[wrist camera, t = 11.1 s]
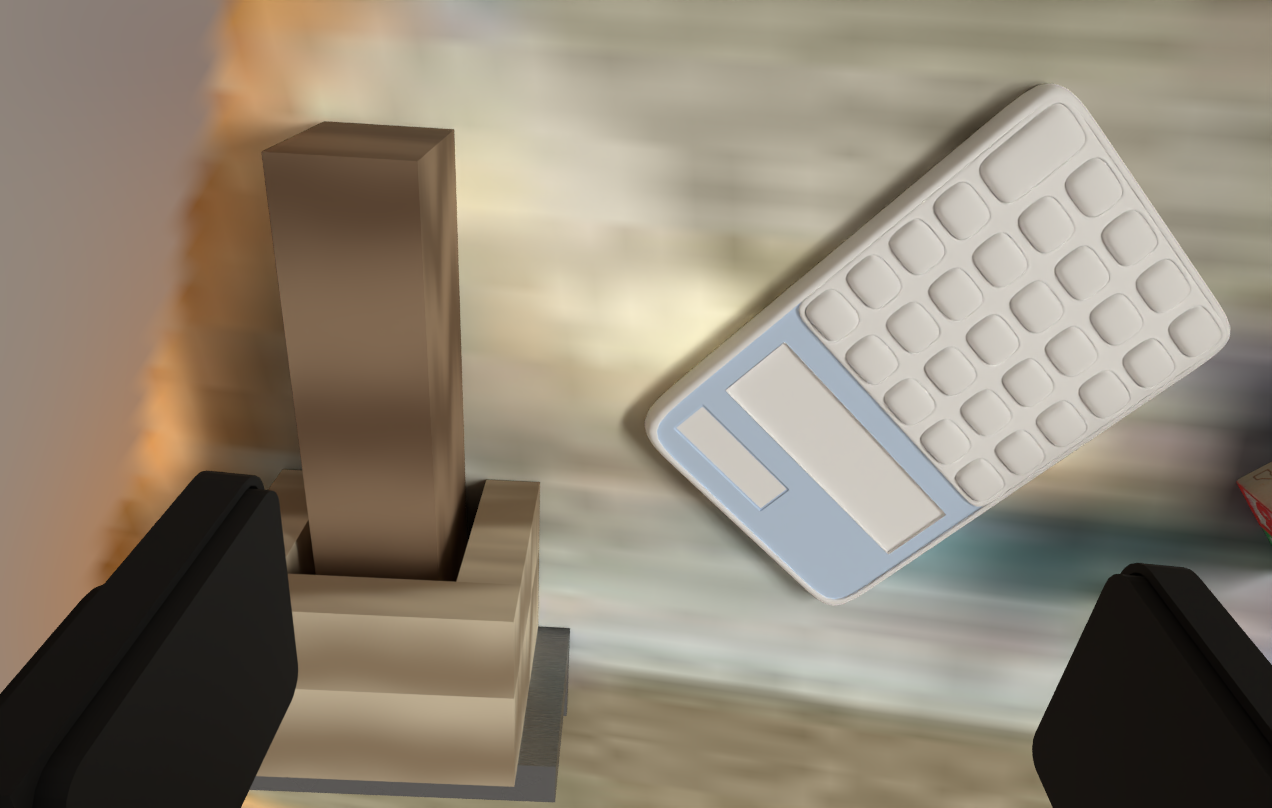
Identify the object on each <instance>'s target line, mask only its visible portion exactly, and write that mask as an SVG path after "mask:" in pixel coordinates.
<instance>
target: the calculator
mask: <svg viewBox="0 0 1272 808" xmlns="http://www.w3.org/2000/svg"><path fill="white" fill-rule="evenodd" d="M1060 103H1061V104H1060ZM1065 106H1066V107H1067V108H1066V107H1065ZM1102 160H1103V161H1104V162H1103V161H1102ZM971 186H972V187H971ZM976 192H977V193H976ZM980 197H981V198H980ZM1056 200H1057V201H1056ZM983 201H984V202H983ZM1001 201H1002V202H1001ZM1061 206H1062V207H1061ZM1139 213H1140V214H1141V215H1140V214H1139ZM1085 215H1086V216H1085ZM931 229H932V230H931ZM935 234H936V235H935ZM1009 236H1010V237H1011V238H1010V237H1009ZM938 238H939V239H938ZM959 239H960V240H959ZM940 241H941V242H940ZM1015 243H1016V244H1015ZM1018 247H1019V248H1018ZM1090 248H1091V249H1092V250H1091V249H1090ZM1021 251H1022V252H1021ZM1039 251H1040V252H1039ZM1041 252H1042V253H1041ZM1094 252H1095V253H1094ZM1023 254H1024V255H1023ZM1098 257H1099V258H1098ZM1123 265H1124V266H1123ZM909 271H910V272H909ZM965 272H966V273H967V274H966V273H965ZM896 275H897V276H896ZM898 278H899V279H898ZM971 279H972V280H973V281H972V280H971ZM899 280H900V281H899ZM975 284H976V285H975ZM991 284H992V285H991ZM851 288H852V289H851ZM978 288H979V289H978ZM1050 289H1051V290H1050ZM855 293H856V294H857V295H856V294H855ZM1054 294H1055V295H1054ZM1124 295H1125V296H1124ZM1057 298H1058V299H1057ZM1074 298H1075V299H1074ZM1128 299H1129V300H1130V301H1129V300H1128ZM867 305H868V306H867ZM1204 308H1205V309H1206V310H1207V311H1206V310H1205V309H1204ZM1155 311H1156V312H1155ZM858 316H859V317H858ZM946 316H947V317H946ZM934 320H935V321H934ZM936 323H937V324H936ZM937 325H938V326H937ZM1008 325H1009V326H1008ZM938 327H939V328H938ZM1012 330H1013V331H1012ZM1081 330H1082V331H1081ZM1014 333H1015V334H1014ZM1086 336H1087V337H1086ZM1229 338H1230V325H1229V322H1228V320H1227V317H1226V315H1225V313H1224V311H1223V309H1222V308H1221V306H1220V304H1219V303H1218V301H1217V300H1216V298H1215V297H1214V295H1213V294H1212V292H1211V291H1210V289H1209V288H1208V286H1207V285H1206V283H1205V282H1204V280H1203V279H1202V277H1201V276H1200V274H1199V273H1198V271H1197V270H1196V269H1195V267H1194V266H1193V264H1192V263H1191V261H1190V260H1189V258H1188V257H1187V255H1186V254H1185V252H1184V251H1183V249H1182V248H1181V246H1180V245H1179V243H1178V242H1177V240H1176V239H1175V237H1174V236H1173V235H1172V233H1171V232H1170V230H1169V229H1168V227H1167V226H1166V224H1165V223H1164V221H1163V220H1162V218H1161V217H1160V215H1159V214H1158V212H1157V211H1156V209H1155V208H1154V206H1153V205H1152V204H1151V202H1150V201H1149V199H1148V198H1147V196H1146V195H1145V193H1144V192H1143V190H1142V189H1141V187H1140V186H1139V184H1138V183H1137V181H1136V180H1135V178H1134V177H1133V175H1132V174H1131V172H1130V171H1129V170H1128V168H1127V167H1126V165H1125V164H1124V162H1123V161H1122V159H1121V158H1120V156H1119V155H1118V153H1117V152H1116V150H1115V149H1114V147H1113V146H1112V144H1111V143H1110V141H1109V140H1108V138H1107V137H1106V136H1105V134H1104V133H1103V131H1102V130H1101V128H1100V127H1099V125H1098V124H1097V122H1096V121H1095V119H1094V118H1093V117H1092V115H1091V114H1090V112H1089V111H1088V110H1087V108H1086V107H1085V106H1084V105H1083V103H1082V102H1081V101H1080V99H1078V98H1077V97H1076V96H1075V95H1074V94H1073V93H1072V92H1071V91H1070V90H1068V89H1067V88H1065V87H1063V86H1060V85H1058V84H1054V83H1049V84H1042V85H1037V86H1036V87H1034V88H1032V89H1030V90H1029V91H1027V92H1025V93H1023V94H1022V95H1021V96H1019V97H1018V98H1017V99H1015V100H1014V101H1013V102H1012V103H1010V104H1009V105H1008V106H1006V107H1005V108H1004V109H1003V110H1001V111H1000V112H999V113H998V114H997V115H995V116H994V117H993V118H992V119H990V120H989V121H988V122H987V123H986V124H984V125H983V126H982V127H981V128H980V129H978V130H977V131H976V132H975V133H974V134H972V135H971V136H970V137H969V138H968V139H966V140H965V141H964V142H963V143H962V144H960V145H959V146H958V147H957V148H956V149H954V150H953V151H952V152H951V153H950V154H949V155H947V156H946V157H945V158H944V159H943V160H941V161H940V162H939V163H938V164H937V165H935V166H934V167H933V168H932V169H931V170H929V171H928V172H927V173H926V174H925V175H923V176H922V177H921V178H920V179H919V180H917V181H916V182H915V183H914V184H913V185H911V186H910V187H909V188H908V189H907V190H905V191H904V192H903V193H902V194H901V195H899V196H898V197H897V198H896V199H895V200H894V201H892V202H891V203H890V204H889V205H888V206H886V207H885V208H884V209H883V210H882V211H880V212H879V213H878V214H877V215H876V216H874V217H873V218H872V219H871V220H870V221H868V222H867V223H866V224H865V225H864V226H862V227H861V228H860V229H859V230H858V231H856V232H855V233H854V234H853V235H852V236H850V237H849V238H848V239H847V240H846V241H844V242H843V243H842V244H841V245H840V246H839V247H837V248H836V249H835V250H834V251H833V252H831V253H830V254H829V255H828V256H827V257H825V258H824V259H823V260H822V261H821V262H819V263H818V264H817V265H816V266H815V267H813V268H812V269H811V270H810V271H809V272H807V273H806V274H805V275H804V276H803V277H801V278H800V279H799V280H798V281H797V282H795V283H794V284H793V285H792V286H791V287H789V288H788V289H787V290H786V291H785V292H784V293H782V294H781V295H780V296H779V297H778V298H776V299H775V300H774V301H773V302H772V303H770V304H769V305H768V306H767V307H766V308H764V309H763V310H762V311H761V312H760V313H758V314H757V315H756V316H755V317H754V318H752V319H751V320H750V321H749V322H748V323H746V324H745V325H744V326H743V327H742V328H740V329H739V330H738V331H737V332H736V333H734V334H733V335H732V336H731V337H730V338H729V339H727V340H726V341H725V342H724V343H723V344H721V345H720V346H719V347H718V348H717V349H715V350H714V351H713V352H712V353H711V354H709V355H708V356H707V357H706V358H705V359H703V360H702V361H701V362H700V363H699V364H697V365H696V366H695V367H694V368H693V369H691V370H690V371H689V372H688V373H687V374H686V375H684V376H683V377H682V378H681V379H680V380H678V381H677V382H676V383H675V384H674V385H672V386H671V387H670V388H669V389H668V390H667V391H666V392H665V393H664V394H663V395H661V396H660V397H659V398H658V399H657V400H656V401H655V403H654V404H653V405H652V406H651V408H650V409H649V410H648V413H647V416H646V419H645V429H646V434H647V437H648V438H649V440H650V441H651V443H652V444H653V446H654V447H655V448H656V449H657V450H658V451H659V452H660V454H661V455H662V456H663V457H664V458H665V459H666V460H667V461H669V462H670V463H671V464H672V465H673V466H674V467H675V468H676V469H677V470H678V471H679V472H680V473H681V474H682V475H683V476H684V477H686V478H687V479H688V480H689V481H690V482H691V483H692V484H693V485H694V486H695V487H696V488H697V489H698V490H699V491H701V492H702V493H703V494H704V495H705V496H706V497H707V498H708V499H709V500H710V501H711V502H712V503H713V504H714V505H716V506H717V507H718V508H719V509H720V510H721V511H722V512H723V513H724V514H725V515H726V516H727V517H728V518H729V519H731V520H732V521H733V522H734V523H735V524H736V525H737V526H738V527H739V528H740V529H741V530H742V531H743V532H744V533H745V534H747V535H748V536H749V537H750V538H751V539H752V540H753V541H754V542H755V543H756V544H757V545H758V546H759V547H760V548H762V549H763V550H764V551H765V552H766V553H767V554H768V555H769V556H770V557H771V558H772V559H773V560H774V561H775V562H777V563H778V564H779V565H780V566H781V567H782V568H783V569H784V570H785V571H786V572H787V573H788V574H789V575H790V576H792V577H793V578H794V579H795V580H796V581H797V582H798V583H799V584H800V585H801V586H802V587H803V588H804V589H806V590H807V591H808V592H809V593H810V594H811V595H813V596H814V597H815V598H816V599H818V600H820V601H821V602H823V603H825V604H829V605H834V606H835V605H840V604H844V603H847V602H849V601H851V600H853V599H855V598H857V597H858V596H860V595H861V594H863V593H865V592H866V591H868V590H870V589H871V588H873V587H874V586H876V585H877V584H879V583H880V582H882V581H883V580H885V579H886V578H888V577H889V576H890V575H892V574H893V573H895V572H896V571H898V570H899V569H901V568H902V567H904V566H905V565H907V564H908V563H910V562H911V561H913V560H914V559H916V558H917V557H919V556H920V555H922V554H923V553H924V552H926V551H927V550H929V549H930V548H932V547H933V546H935V545H936V544H938V543H939V542H941V541H942V540H944V539H945V538H947V537H948V536H950V535H951V534H953V533H954V532H956V531H957V530H959V529H960V528H961V527H963V526H964V525H966V524H967V523H969V522H970V521H972V520H973V519H975V518H976V517H978V516H979V515H981V514H982V513H984V512H985V511H987V510H988V509H990V508H991V507H993V506H994V505H995V504H997V503H998V502H1000V501H1001V500H1003V499H1004V498H1006V497H1007V496H1009V495H1010V494H1012V493H1013V492H1015V491H1016V490H1018V489H1019V488H1021V487H1022V486H1024V485H1025V484H1027V483H1028V482H1030V481H1031V480H1032V479H1034V478H1035V477H1037V476H1038V475H1040V474H1041V473H1043V472H1044V471H1046V470H1047V469H1049V468H1050V467H1052V466H1053V465H1055V464H1056V463H1058V462H1059V461H1061V460H1062V459H1064V458H1065V457H1066V456H1068V455H1069V454H1071V453H1072V452H1074V451H1075V450H1077V449H1078V448H1080V447H1081V446H1083V445H1084V444H1086V443H1087V442H1089V441H1090V440H1092V439H1093V438H1095V437H1096V436H1098V435H1099V434H1101V433H1102V432H1103V431H1105V430H1106V429H1108V428H1109V427H1111V426H1112V425H1114V424H1115V423H1117V422H1118V421H1120V420H1121V419H1123V418H1124V417H1126V416H1127V415H1129V414H1130V413H1132V412H1133V411H1135V410H1136V409H1137V408H1139V407H1140V406H1142V405H1143V404H1145V403H1146V402H1148V401H1149V400H1151V399H1152V398H1154V397H1155V396H1157V395H1158V394H1160V393H1161V392H1163V391H1164V390H1166V389H1167V388H1169V387H1170V386H1171V385H1173V384H1174V383H1176V382H1177V381H1179V380H1180V379H1182V378H1183V377H1185V376H1186V375H1188V374H1189V373H1191V372H1192V371H1194V370H1195V369H1196V368H1198V367H1199V366H1201V365H1202V364H1203V363H1205V362H1206V361H1207V360H1209V359H1210V358H1212V357H1213V356H1214V355H1215V354H1216V353H1218V352H1219V351H1220V350H1221V349H1222V348H1223V347H1224V346H1225V345H1226V343H1227V341H1228V339H1229ZM896 340H897V341H896ZM1089 340H1090V341H1089ZM1159 342H1160V343H1159ZM1108 343H1109V344H1108ZM905 349H906V350H905ZM1184 354H1185V355H1184ZM1186 355H1187V356H1186ZM895 356H896V357H895ZM967 359H968V360H967ZM897 361H898V362H897ZM984 361H985V362H986V363H985V362H984ZM1040 365H1041V366H1040ZM974 369H975V370H974ZM1044 370H1045V371H1044ZM1118 378H1119V379H1118ZM930 379H931V380H930ZM1139 385H1140V386H1139ZM936 386H937V387H938V388H939V389H940V390H941V391H940V390H939V389H938V388H937V387H936ZM1124 386H1125V387H1124ZM1141 386H1142V387H1141ZM1126 389H1127V390H1126ZM944 393H945V394H944ZM932 398H933V399H932ZM933 400H934V401H933ZM1008 409H1009V410H1008ZM1009 411H1010V412H1009ZM1077 411H1078V412H1077ZM1093 413H1094V414H1093ZM1080 415H1081V416H1080ZM1082 418H1083V419H1082ZM970 425H971V426H972V427H971V426H970ZM976 431H977V432H976ZM1052 443H1053V444H1052ZM1039 445H1040V446H1039ZM1041 448H1042V449H1041ZM1042 450H1043V451H1042ZM1003 463H1004V464H1005V465H1004V464H1003ZM1000 475H1001V476H1000Z"/></svg>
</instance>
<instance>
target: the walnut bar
mask: <svg viewBox="0 0 1272 808" xmlns="http://www.w3.org/2000/svg"><path fill="white" fill-rule="evenodd" d="M262 160H263V168H264V176H265V183H266V191H267V199H268V207H269V214H270V222H271V230H272V238H273V246H274V253H275V261H276V269H277V277H278V284H279V292H280V300H281V308H282V316H283V323H284V331H285V339H286V347H287V354H288V362H289V370H290V378H291V386H292V393H293V401H294V409H295V417H296V424H297V432H298V440H299V448H300V456H301V463H302V471H303V479H304V487H305V494H306V502H307V510H308V518H309V526H310V533H311V541H312V549H313V557H314V564H315V572H316V575H327V576H348V577H369V578H390V579H410V580H431V581H452V582H456V581H457V577H458V574H459V571H460V567H461V564H462V561H463V557H464V554H465V551H466V547H467V516H466V485H465V453H464V422H463V391H462V359H461V328H460V296H459V265H458V234H457V202H456V171H455V139H454V129H438V128H422V127H406V126H389V125H373V124H357V123H341V122H325V121H324V122H322V123H320V124H318V125H316V126H314V127H312V128H310V129H308V130H306V131H304V132H301V133H299V134H297V135H295V136H293V137H291V138H289V139H287V140H285V141H283V142H281V143H279V144H276V145H274V146H272V147H270V148H268V149H266V150H264V151H262Z"/></svg>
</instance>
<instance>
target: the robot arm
mask: <svg viewBox="0 0 1272 808" xmlns="http://www.w3.org/2000/svg"><path fill="white" fill-rule="evenodd" d="M297 680H298V660H297V651H296V642H295V634H294V625H293V616H292V607H291V599H290V590H289V581H288V573H287V564H286V555H285V546H284V538H283V529H282V520H281V512H280V503H279V498H278V495H277V493H276V492H275V491H273V490H264V486H263V483H262V481H261V479H260V478H259V477H257V476H255V475H245V474H235V473H225V472H215V471H203V472H200V473H199V474H198V475H197V476H195V477H194V479H193V480H192V481H191V482H190V483H189V484H188V486H187V487H186V488H185V489H184V490H183V492H182V493H181V494H180V495H179V496H178V497H177V499H176V500H175V501H174V502H173V503H172V505H171V506H170V507H169V508H168V509H167V510H166V512H165V513H164V514H163V515H162V516H161V518H160V519H159V520H158V521H157V522H156V523H155V525H154V526H153V527H152V528H151V529H150V531H149V532H148V533H147V534H146V535H145V536H144V538H143V539H142V540H141V541H140V542H139V544H138V545H137V546H136V547H135V548H134V549H133V551H132V552H131V553H130V554H129V555H128V557H127V558H126V559H125V560H124V561H123V562H122V564H121V565H120V566H119V567H118V568H117V570H116V571H115V572H114V573H113V574H112V575H111V577H110V578H109V579H108V580H107V581H106V583H105V584H103V585H101V586H98V587H96V588H94V589H93V590H91V591H90V592H89V593H88V594H87V595H86V596H85V597H84V598H83V599H82V600H81V601H80V602H79V603H78V604H77V606H76V607H75V608H74V609H73V610H72V611H71V612H70V614H69V615H68V616H67V617H66V618H65V619H64V621H63V622H62V623H61V624H60V625H59V627H57V629H56V630H55V631H54V632H53V633H52V634H51V636H50V637H49V638H48V639H47V640H46V641H45V643H44V644H43V645H42V646H41V647H40V648H39V650H38V651H37V652H36V653H35V654H34V655H33V657H32V658H31V659H30V660H29V661H28V662H27V664H26V665H25V666H24V667H23V668H22V669H21V671H20V672H19V673H18V674H17V675H16V676H15V678H14V679H13V680H12V681H11V682H10V683H9V685H8V686H7V687H6V688H5V689H4V690H3V691H2V693H1V694H0V808H241V806H242V804H243V802H244V800H245V798H246V796H247V794H248V792H249V789H250V787H251V785H252V783H253V781H254V779H255V777H256V775H257V773H258V771H259V768H260V766H261V764H262V762H263V760H264V758H265V756H266V754H267V752H268V750H269V747H270V745H271V743H272V741H273V739H274V737H275V735H276V733H277V731H278V729H279V726H280V724H281V722H282V720H283V718H284V716H285V714H286V712H287V710H288V708H289V705H290V703H291V701H292V699H293V696H294V693H295V689H296V685H297ZM1032 753H1033V761H1034V765H1035V768H1036V771H1037V773H1038V775H1039V778H1040V780H1041V782H1042V784H1043V787H1044V789H1045V791H1046V793H1047V796H1048V798H1049V800H1050V802H1051V805H1052V807H1053V808H1272V665H1271V663H1270V662H1269V661H1268V660H1267V659H1266V657H1265V656H1264V655H1263V654H1262V653H1261V651H1260V650H1259V649H1258V648H1257V647H1256V645H1255V644H1254V643H1253V642H1252V641H1251V639H1250V638H1249V637H1248V636H1247V635H1246V633H1245V632H1244V631H1243V630H1242V628H1241V627H1240V626H1239V625H1238V624H1237V622H1236V621H1235V620H1234V619H1233V618H1232V616H1231V615H1230V614H1229V613H1228V612H1227V610H1226V609H1225V608H1224V607H1223V606H1222V604H1221V603H1220V602H1219V601H1218V599H1217V598H1216V597H1215V596H1214V595H1213V593H1212V592H1211V591H1210V590H1209V589H1208V587H1207V586H1206V585H1205V584H1204V583H1203V581H1202V580H1201V579H1200V578H1199V577H1198V576H1197V575H1196V574H1195V573H1194V572H1193V571H1192V570H1190V569H1187V568H1184V567H1174V566H1164V565H1154V564H1144V563H1133V564H1130V565H1128V566H1127V567H1125V568H1124V569H1123V571H1122V572H1121V574H1115V575H1113V576H1111V577H1110V578H1109V579H1108V580H1107V582H1106V584H1105V586H1104V588H1103V590H1102V592H1101V594H1100V596H1099V598H1098V600H1097V603H1096V605H1095V607H1094V609H1093V611H1092V613H1091V615H1090V618H1089V620H1088V622H1087V624H1086V626H1085V628H1084V630H1083V632H1082V635H1081V637H1080V639H1079V641H1078V643H1077V645H1076V647H1075V650H1074V652H1073V654H1072V656H1071V658H1070V660H1069V662H1068V665H1067V667H1066V669H1065V671H1064V673H1063V675H1062V677H1061V679H1060V682H1059V684H1058V686H1057V688H1056V690H1055V692H1054V694H1053V697H1052V699H1051V701H1050V703H1049V705H1048V707H1047V709H1046V711H1045V714H1044V716H1043V718H1042V720H1041V722H1040V724H1039V726H1038V729H1037V731H1036V733H1035V736H1034V739H1033V746H1032Z"/></svg>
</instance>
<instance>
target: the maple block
mask: <svg viewBox="0 0 1272 808" xmlns="http://www.w3.org/2000/svg"><path fill="white" fill-rule="evenodd" d="M268 490H273V491H275V492H276V493H277V495H278V498H279V503H280V512H281V520H282V529H283V538H284V546H285V555H286V564H287V573H288V581H289V590H290V599H291V607H292V616H293V625H294V634H295V642H296V651H297V660H298V680H297V685H296V689H295V693H294V696H293V699H292V701H291V703H290V705H289V708H288V710H287V712H286V714H285V716H284V718H283V720H282V722H281V724H280V726H279V729H278V731H277V733H276V735H275V737H274V739H273V741H272V743H271V745H270V747H269V750H268V752H267V754H266V756H265V758H264V760H263V762H262V764H261V766H260V768H259V771H258V773H257V775H256V776H266V777H290V778H314V779H338V780H362V781H386V782H410V783H434V784H459V785H483V786H507V787H514V785H515V778H516V772H517V765H518V758H519V751H520V745H521V738H522V731H523V725H524V718H525V711H526V705H527V698H528V691H529V684H530V678H531V671H532V664H533V658H534V651H535V644H536V637H537V631H538V591H539V511H540V482H522V481H502V480H486V483H485V486H484V490H483V493H482V496H481V500H480V503H479V507H478V510H477V513H476V517H475V520H474V524H473V527H472V530H471V534H470V537H469V541H468V544H467V547H466V551H465V554H464V557H463V561H462V564H461V567H460V571H459V574H458V577H457V581H456V582H452V581H431V580H410V579H390V578H369V577H348V576H327V575H316V572H315V564H314V557H313V549H312V541H311V533H310V526H309V518H308V510H307V502H306V494H305V487H304V479H303V471H302V470H286V469H283V470H282V471H281V472H280V474H279V475H278V477H277V478H276V479H275V481H274V482H273V484H272V485H271V487H270V488H269V489H268Z"/></svg>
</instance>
